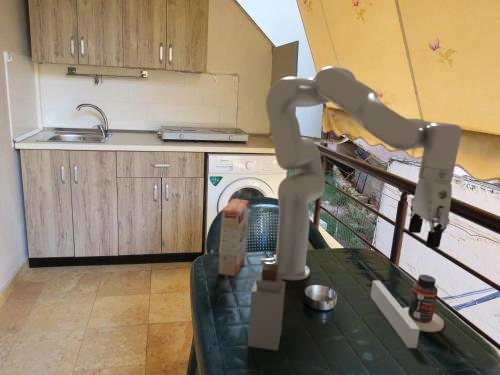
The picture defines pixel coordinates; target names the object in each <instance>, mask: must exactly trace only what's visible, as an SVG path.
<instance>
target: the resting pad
mask: <svg viewBox="0 0 500 375" xmlns="http://www.w3.org/2000/svg"><path fill="white" fill-rule="evenodd" d="M402 308H403V309H404V310H405V312H406V313H407V314H408V310H409V306H407V307H406V306H405V307H402ZM408 315H409V314H408ZM410 318H411V317H410ZM411 319H412V318H411ZM412 320H413V321H414V322H415V324H416V325H417V326H418V327H419V328H420V331H421V332H425V333H426V332H428V333H436V332H440V331H442V330H443V329H444V326H445V322H444V320H443V319H442V318H441V317H440V316H439V315H438V314H436V313H435V312H434V314H433V318H432V320H431V321H430V322H427V323H423V322H418V321H416V320H414V319H412ZM420 331H419V332H420Z"/></svg>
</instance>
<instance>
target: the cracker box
mask: <svg viewBox="0 0 500 375" xmlns="http://www.w3.org/2000/svg"><path fill="white" fill-rule="evenodd" d="M249 206H250V201H249V200H245V199H239V198H238V199H236V198H232V199H231V200H230V201H229V202H228V203H227V205H225V206H224V207H223V208H222V209H221V219H220V220H221V221H220V234H219V238H220V240H219V253H218V255H219V256H218V257H219V258H218V270H217V271H218V274H219V275H223V276H229V277H230V276H231V277H236V276H237V274H238V272H239V271H240V269H241V267H242V265H243V264H244V262H245V260H246V248H247V236H248V234H247V233H248V223H249V222H248V221H249V219H248V218H249V210H250V209H249Z"/></svg>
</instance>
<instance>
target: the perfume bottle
mask: <svg viewBox="0 0 500 375" xmlns="http://www.w3.org/2000/svg"><path fill="white" fill-rule="evenodd" d="M277 271H278V265H271V264H262V268H261V270H258V274H257V276H256V277H255V280H254V283H253V286H252V288H251V291H250V305H249V307H250V309H249V323H248V336H247V337H248V339H247V346H248V347H252V348H260V349H265V350H271V351H279V346H280V341H281V336H282V327H283V326H282V325H283V315H284V314H283V313H284V301H285V290H286V280H285V281H284V280H283V279H282V275H283V273H277Z"/></svg>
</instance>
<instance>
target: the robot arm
mask: <svg viewBox="0 0 500 375" xmlns="http://www.w3.org/2000/svg"><path fill="white" fill-rule="evenodd" d="M327 103H332V104H333V105H334V106H336V107H338V108H339V109H341V110H342V111H343V112H344V113H346V114H348V115H350V116H351V117H352V118H354V119H355V121H356V122H357V123H358V124H359V125H361V127H363V129H365V130H366V131H367V132H368V133H370V135H372V136H374V137H375V138H376V139H378V140H379V141H381V142H383V143H384V144H385V145H387V146H388V147H389V148H392V149H393V150H397V151H401V152H404V151H405V152H406V151H410V150H413V149H414V150H415V149H423V151H422V155H421V160H420V161H421V162H420V168H419V173H418V176H417V177H418V180H417V183H416V188H415V191H414V196H413V197H411V199H410V214H409V216H410V219H409V220H410V221H409V224H408V230H407V232H409V233H411V234H420V233H421V232H422V231H421V230H422V226H423V223H424V222H423V221H424V220H425V221H426V222H427V223H429V230H428V233H427V236H426V242H425V246H426V247H427V248H433V249H434V248H438V249H439V248H440V246H441V240H442V237H443V236H442V235H443V234H444V233H445V231H446V229H447V227H448V225H449V223H450V218H449V216H450V211H451V210H450V209H451V202H452V195H453V194H452V193H453V191H452V189H453V188H452V181H453V177H454V176H453V175H454V172H455V166H456V162H457V157H458V152H459V149H460V143H461V138H462V131H463V130H462V127H461V126H460V125H458V124H453V123H447V122H431V121H428V120H423V119H419V118H406V117H404V116H402V115H401V114H399V113H397V112H396V111H394V110H393V109H391V108H389V107H388V106H387V105H386V104H384V103H383V102H382V101H381V100H380V98H379V96H378V93H377V92H376V90H374V89H373V88H371V87H369V86H368V85H366V84H365V83H363V82H362V81H360V80H358V79H356V77H355V75H354V73H353V72H352V71H350V70H349V69H347V68H344V67H339V66H334V65H333V66H330V65H329V66H326V67H323V68H321V69H320V70H319V71H318V72H317V73H316V74H315V76H313V77H310V78H306V77H298V76H286V77H285V76H284V77H283V78H282V77H281V78H280V79H278V80H276V81H275V83H273V84H272V85H271V87H270V88H269V90H268V92H267V95H266V99H265V108H266V112H267V117H268V120H269V126H270V130H271V137H272V143H273V149H274V153H275V158H276V162H277V165H278V166H279V168H280V169H282V170H285V171H295V173H294V174H292V175H288V176H286V177H285V178H284V179H283V180H282V181H281V182H280V184H279V185H278V188H277V200H278V222H277V234H276V235H277V238H276V247H275V248H276V249H275V254H273V257H270V258H266V257H264V258H263V257H261V258H260V265H264V264H271V265H278V271H277V273H283V275H282V279H281V280H285V281H302V280H304V279H307V278H308V277H309V276H310V273H311V270H310V268H309V266H307V265H306V263H307V262H306V261H307V254H308V252H307V251H308V243H309V233H310V220H311V219H310V217H311V216H310V211H309V203H311V202H313V201H315V200H318V199H319V198H321V197H322V196H323V194H324V192H325V189H326V188H325V187H326V183H325V182H326V181H325V175H324V168H323V164H322V159H321V153H320V150H319V148H318V146H317V144H316V143H315V141H313V139H311V138H308V137H302V133H301V128H300V124H299V123H300V122H299V120H298V117H297V115H296V114H295V112H294V108H295V107H296V108H309V107H315V106H319V105H323V104H327ZM435 224H436V225H435Z"/></svg>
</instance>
